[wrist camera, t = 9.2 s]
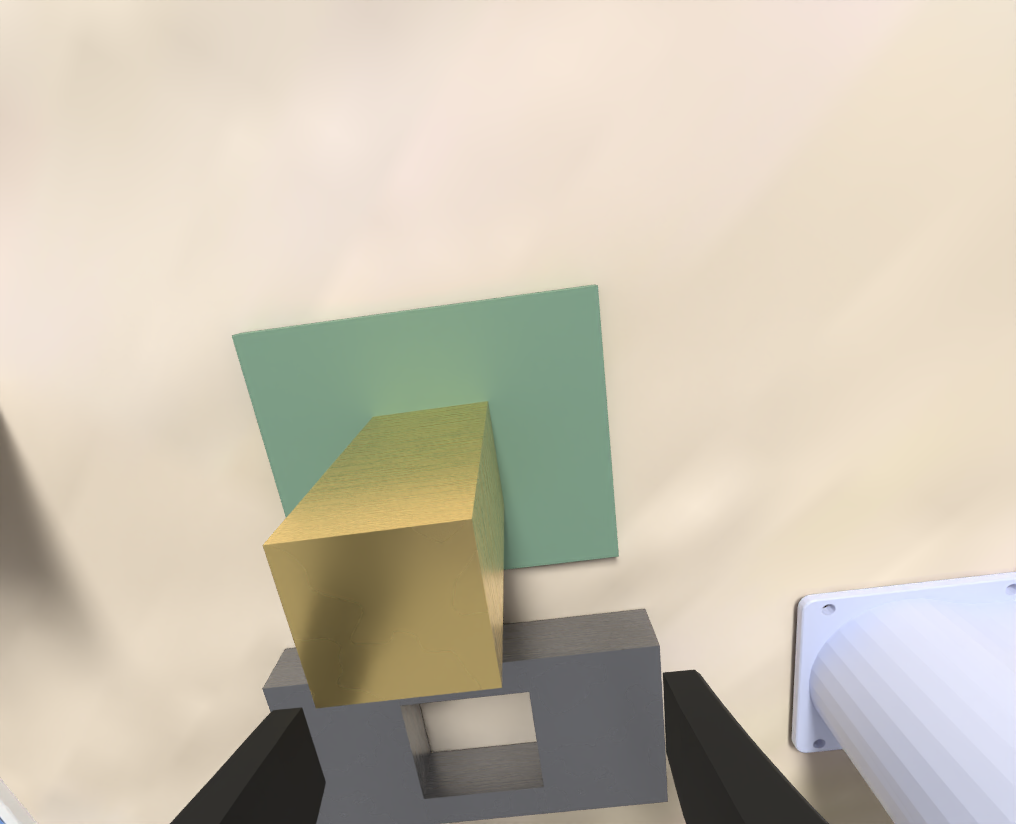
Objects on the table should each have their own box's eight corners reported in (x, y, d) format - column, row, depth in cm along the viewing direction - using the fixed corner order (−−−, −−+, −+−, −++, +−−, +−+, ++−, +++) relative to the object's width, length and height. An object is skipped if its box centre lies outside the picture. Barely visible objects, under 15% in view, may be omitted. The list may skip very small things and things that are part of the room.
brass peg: (487, 401, 17) (471, 519, 9) (504, 505, 18) (502, 687, 10) (372, 416, 17) (262, 545, 9) (396, 519, 18) (315, 708, 10)
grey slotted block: (645, 608, 20) (659, 645, 18) (654, 755, 22) (667, 801, 20) (285, 648, 21) (262, 688, 19) (330, 787, 23) (314, 835, 21)
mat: (594, 284, 16) (597, 285, 16) (615, 547, 19) (618, 556, 19) (241, 332, 17) (231, 335, 16) (314, 582, 20) (308, 592, 19)
